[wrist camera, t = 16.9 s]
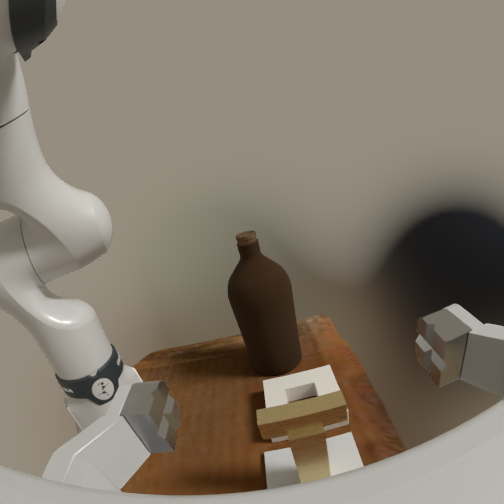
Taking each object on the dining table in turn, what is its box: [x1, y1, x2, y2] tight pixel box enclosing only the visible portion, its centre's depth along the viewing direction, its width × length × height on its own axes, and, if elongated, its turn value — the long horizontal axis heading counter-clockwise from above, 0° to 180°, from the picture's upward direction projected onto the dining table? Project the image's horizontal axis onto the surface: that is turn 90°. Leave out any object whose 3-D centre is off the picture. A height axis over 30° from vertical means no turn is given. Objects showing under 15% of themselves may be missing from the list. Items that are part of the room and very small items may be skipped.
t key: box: [256, 390, 347, 483], centre depth 27 cm, size 8×3×14 cm, turn 92°
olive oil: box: [228, 231, 302, 376], centre depth 52 cm, size 11×11×25 cm
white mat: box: [264, 432, 364, 489], centre depth 29 cm, size 12×12×1 cm
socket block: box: [263, 365, 349, 443], centre depth 41 cm, size 11×11×3 cm
